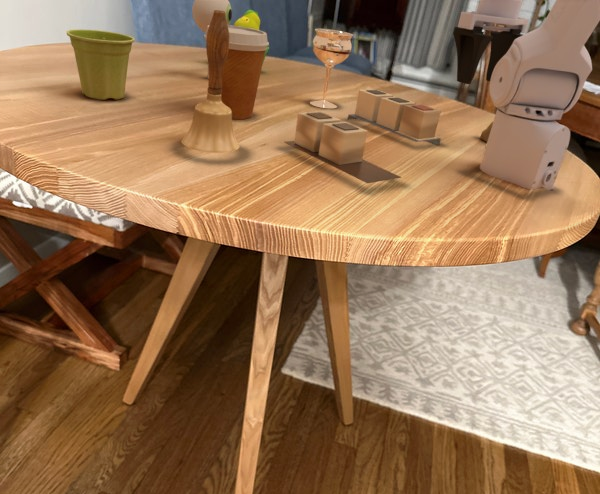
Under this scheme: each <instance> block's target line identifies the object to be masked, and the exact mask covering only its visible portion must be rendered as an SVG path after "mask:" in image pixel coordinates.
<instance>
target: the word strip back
mask: <svg viewBox="0 0 600 494" xmlns="http://www.w3.org/2000/svg"><path fill="white" fill-rule="evenodd" d="M404 105H417V102H414V101H411V100H409V99H405V98H402V97H399V96H394V95H393V94H391V93H387V92H385V91H381V90H379V89H375V88H374V89H359V90H358V94H357V100H356V106H355V111H354V113H350V114H348V115H347V120H348V121H349V120H350V121H351V120H359V121H363V122H366V123H368V124H371V125H373V126H376V127H378V128H381V129H383V130H386V131H388V132H390V133H393V134H395V135H398V136H400V137H403V138H406V139H408V140H411V141H413V142H415V143H419V142H427V143H429V144H432V145H434V146H439V145H440V144H441V141H442V138H441V137H438V136H436V135H435V136H434V137H431V138H422V139H416V138H414V137H411V136H409V135H406V134H404V133H401V132H399V127H400V123H401V118H402V113H403V109H404Z"/></svg>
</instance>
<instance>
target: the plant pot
mask: <svg viewBox="0 0 600 494" xmlns="http://www.w3.org/2000/svg"><path fill="white" fill-rule="evenodd" d="M66 35H67V36H68V37H69V40H70V44H71V47H72V49H73V51H74V52H73V53H74V57H75V61H76V62H75V63H76V67H77V72H78V76H79V81H80V87H81V92H82V94H83V95H85V97H87V98H90V99H97V100H101V101H103V100H108V99H113V100H116V101H117V100H121V99H123V98H125V95H126V85H127V84H126V83H127V74H128V67H129V59H130V53H131V51H132V45H133V43H134V42H135V39H136V38H135V37H133V36H130V35H128V34H123V33H119V32H114V31H109V30H108V31H107V30H97V29H68V30H66Z"/></svg>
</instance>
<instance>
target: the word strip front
mask: <svg viewBox="0 0 600 494" xmlns="http://www.w3.org/2000/svg"><path fill="white" fill-rule="evenodd" d="M368 132H369V131H368V130H366V129H365V128H362V127H359V126H357V125H354V124H352V123H350V122H347V121H341V119H340V118H337V117H335V116H333V115H330V114H328V113H325V112H323V111H307V112H306V111H305V112H297V120H296V126H295V135H294V140H288V141H284V143H285V144H287V145H289V146H291V147H293V148H294V149H297V150H299V151H301V152H303V153H305V154H307V155H309V156H311V157H313V158H314V159H317V160H319V161H321V162H323V163H325V164H327V165H329V166H331V167H334V168H336V169H337V170H339V171H341V172H343V173H346V174H347V175H349V176H352V177H354V178H356V179H358V180H360V181H361V182H364V183H366V184H373V183H379V182H383V181H389V180H395V179H401V178H402V177H401V176H400V175H398V174H396V173H393V172H391V171H389V170H387V169H385V168H383V167H381V166H378V165H376V164H374V163H372V162H370V161H367V160H365V159H363V158H364V152H365V148H366V142H367V137H368Z"/></svg>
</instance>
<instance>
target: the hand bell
mask: <svg viewBox="0 0 600 494" xmlns="http://www.w3.org/2000/svg"><path fill="white" fill-rule="evenodd" d="M205 47H206V57H207V63H208V62H209V79H208V81H207V82H208V83H207V86H208V87H207V93H206V99H205V100H204V101H201V102H199V103H197V104H195V106H194V112H193V116H192V120H191V124H190V128H189V130H188V131H187V133H186V134H185V136H184V137H183V138H182V139H181V144H182V145H183V146H185V147H187V148H188V149H191V150H195V151H198V152H203V153H212V154H213V153H214V154H225V153H232V152H235V151H238V150H239V149H240V148H241V145H240V143H239V142H238V140H237V138H236V135H235V132H234V126H233V119H232V111H231V109H230V108H229V107H227V106H226V105H225V104H223V103H222V101H221V93H222V89H221V88H222V73H223V68H224V64H225V62H226V59H227V55H228V49H229V30H228V25H227V21H226V13H225V11H220V10H214V13H213V17H212V20H211V23H210V25H209V28H208V32H207V40H206V42H205Z"/></svg>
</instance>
